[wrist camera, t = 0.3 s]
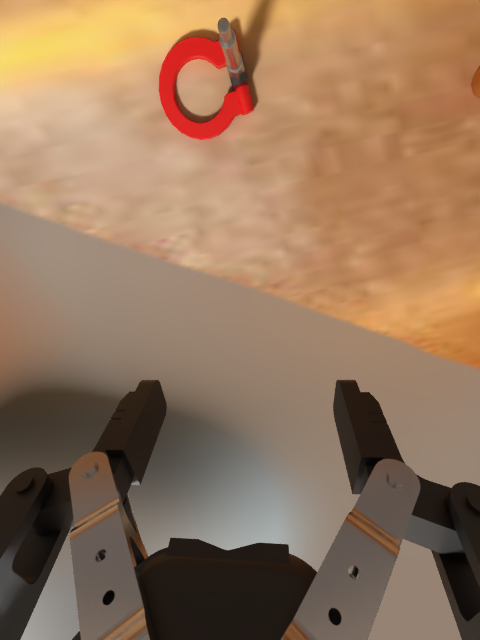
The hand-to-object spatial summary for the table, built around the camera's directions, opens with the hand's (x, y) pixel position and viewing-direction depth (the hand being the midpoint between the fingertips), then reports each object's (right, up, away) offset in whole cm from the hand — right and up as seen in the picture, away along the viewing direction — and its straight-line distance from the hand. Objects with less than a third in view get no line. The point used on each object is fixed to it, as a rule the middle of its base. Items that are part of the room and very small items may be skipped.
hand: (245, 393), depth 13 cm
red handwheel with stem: (-4, +28, +18) cm, 33 cm away
